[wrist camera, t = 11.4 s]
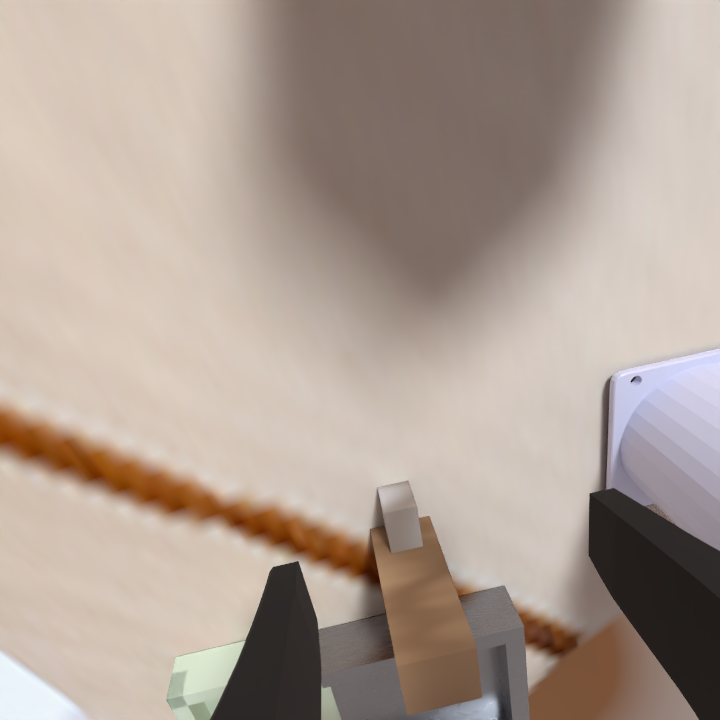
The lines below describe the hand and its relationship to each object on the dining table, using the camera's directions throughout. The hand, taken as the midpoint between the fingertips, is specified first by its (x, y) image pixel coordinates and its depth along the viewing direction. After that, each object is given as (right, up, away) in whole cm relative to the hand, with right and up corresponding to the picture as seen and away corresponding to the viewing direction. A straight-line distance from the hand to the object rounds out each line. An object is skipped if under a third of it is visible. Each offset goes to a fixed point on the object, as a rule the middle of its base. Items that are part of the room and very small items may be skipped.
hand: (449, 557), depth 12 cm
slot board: (+2, -14, +17) cm, 22 cm away
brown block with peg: (0, -5, +13) cm, 14 cm away
